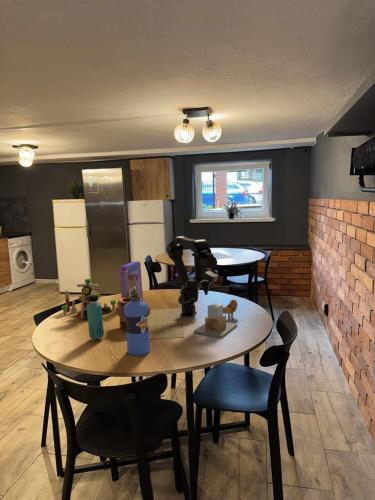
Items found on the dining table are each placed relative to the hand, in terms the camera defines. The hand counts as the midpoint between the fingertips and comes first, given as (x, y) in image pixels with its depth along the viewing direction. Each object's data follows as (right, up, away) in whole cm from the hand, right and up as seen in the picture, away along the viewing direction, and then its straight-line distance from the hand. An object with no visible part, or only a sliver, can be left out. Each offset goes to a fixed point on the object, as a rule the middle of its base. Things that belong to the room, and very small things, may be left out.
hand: (201, 297), depth 166 cm
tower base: (+6, -13, -10) cm, 18 cm away
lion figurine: (+12, -11, +4) cm, 17 cm away
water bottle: (-26, -18, -29) cm, 43 cm away
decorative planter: (-33, -14, -2) cm, 36 cm away
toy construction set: (-63, -13, +23) cm, 69 cm away
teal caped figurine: (-47, -17, -15) cm, 52 cm away
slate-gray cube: (+6, -7, -11) cm, 14 cm away
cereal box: (-39, -9, +38) cm, 55 cm away
